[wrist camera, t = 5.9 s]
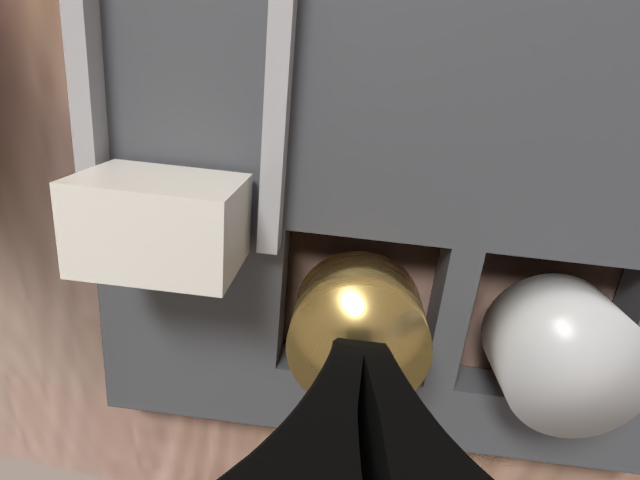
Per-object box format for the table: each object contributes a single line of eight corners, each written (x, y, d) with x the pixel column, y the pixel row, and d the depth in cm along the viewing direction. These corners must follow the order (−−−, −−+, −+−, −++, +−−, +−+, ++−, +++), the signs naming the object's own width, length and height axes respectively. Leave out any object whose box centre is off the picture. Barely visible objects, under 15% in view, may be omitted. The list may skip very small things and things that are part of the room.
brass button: (431, 258, 14) (445, 295, 12) (409, 367, 16) (419, 419, 13) (301, 243, 14) (290, 277, 12) (292, 353, 16) (281, 402, 13)
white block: (252, 173, 13) (224, 202, 10) (249, 251, 14) (222, 298, 11) (114, 158, 13) (49, 182, 10) (119, 237, 14) (60, 279, 11)
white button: (629, 281, 14) (685, 323, 12) (590, 389, 15) (632, 447, 13) (496, 266, 14) (524, 305, 12) (469, 374, 15) (489, 428, 13)
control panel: (818, -44, 12) (920, -69, 10) (618, 442, 17) (655, 494, 15) (94, -107, 13) (41, -144, 10) (126, 380, 18) (95, 421, 16)
